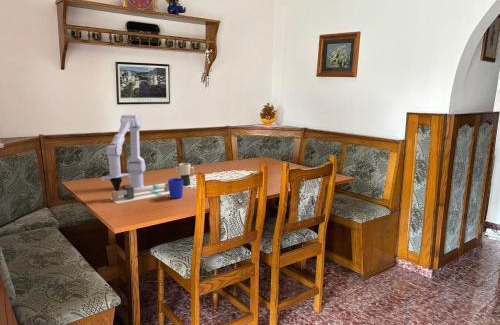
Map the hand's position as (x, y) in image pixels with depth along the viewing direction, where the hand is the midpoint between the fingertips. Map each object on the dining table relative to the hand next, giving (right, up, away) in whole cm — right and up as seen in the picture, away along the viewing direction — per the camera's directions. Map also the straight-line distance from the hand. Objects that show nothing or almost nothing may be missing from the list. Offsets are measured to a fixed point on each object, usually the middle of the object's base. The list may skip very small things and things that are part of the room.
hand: (116, 191), depth 217 cm
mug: (+31, -3, +5) cm, 32 cm away
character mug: (+32, +2, +30) cm, 44 cm away
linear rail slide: (+12, -3, +5) cm, 14 cm away
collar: (+6, -4, +1) cm, 7 cm away
